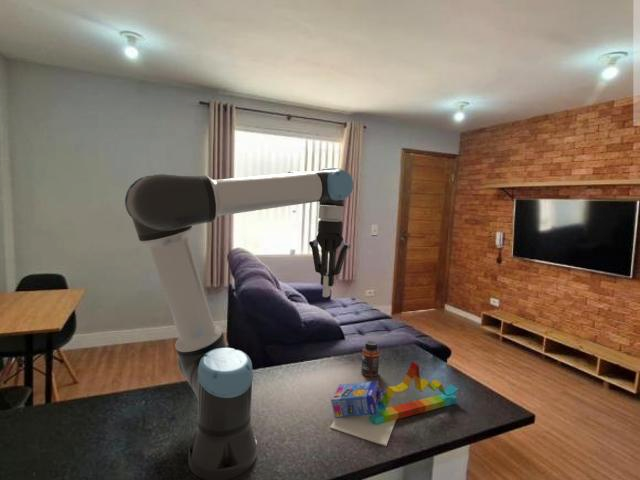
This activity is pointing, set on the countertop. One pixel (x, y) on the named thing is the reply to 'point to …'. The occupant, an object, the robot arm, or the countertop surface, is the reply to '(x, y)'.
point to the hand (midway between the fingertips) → (326, 295)
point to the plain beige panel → (364, 428)
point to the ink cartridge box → (356, 399)
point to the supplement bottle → (370, 359)
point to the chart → (415, 406)
